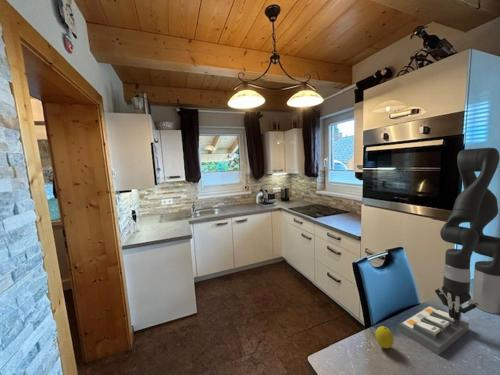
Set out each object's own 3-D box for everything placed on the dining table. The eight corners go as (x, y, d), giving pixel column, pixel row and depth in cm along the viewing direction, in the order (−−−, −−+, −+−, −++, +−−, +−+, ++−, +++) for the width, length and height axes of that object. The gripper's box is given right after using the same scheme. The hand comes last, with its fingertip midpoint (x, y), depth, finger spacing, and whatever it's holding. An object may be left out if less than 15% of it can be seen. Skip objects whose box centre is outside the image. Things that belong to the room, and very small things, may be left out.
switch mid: (430, 318, 89) (430, 315, 89) (449, 324, 83) (448, 321, 84) (426, 321, 87) (425, 318, 87) (444, 327, 82) (444, 324, 82)
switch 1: (421, 324, 86) (421, 321, 86) (440, 331, 80) (439, 328, 80) (416, 327, 84) (416, 324, 84) (435, 334, 79) (434, 331, 79)
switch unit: (429, 311, 98) (430, 300, 97) (468, 330, 86) (469, 318, 86) (398, 330, 87) (399, 319, 87) (438, 355, 75) (439, 341, 75)
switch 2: (439, 312, 92) (438, 309, 92) (457, 318, 87) (457, 315, 87) (434, 314, 90) (434, 312, 90) (453, 321, 85) (452, 319, 85)
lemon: (395, 355, 76) (396, 333, 75) (378, 352, 77) (379, 331, 76) (389, 342, 81) (389, 322, 81) (373, 340, 83) (373, 320, 82)
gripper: (484, 281, 80) (481, 326, 82) (440, 267, 92) (438, 306, 94) (476, 287, 77) (473, 333, 78) (431, 272, 89) (429, 312, 90)
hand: (454, 318), depth 86 cm, fingers closed
